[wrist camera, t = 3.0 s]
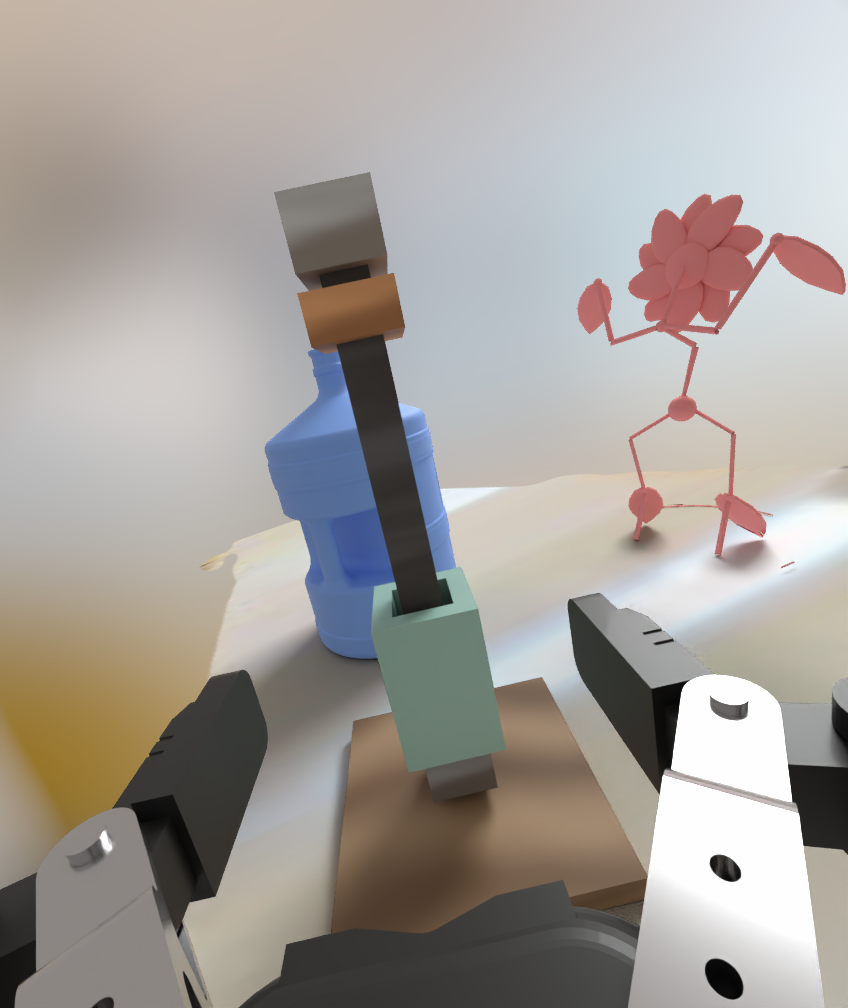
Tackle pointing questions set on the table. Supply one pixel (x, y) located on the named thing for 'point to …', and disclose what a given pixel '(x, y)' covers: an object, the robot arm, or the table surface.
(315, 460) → the water jug
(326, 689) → the table surface
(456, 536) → the table surface
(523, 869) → the cord stand
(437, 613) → the sleeve
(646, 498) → the figurine
